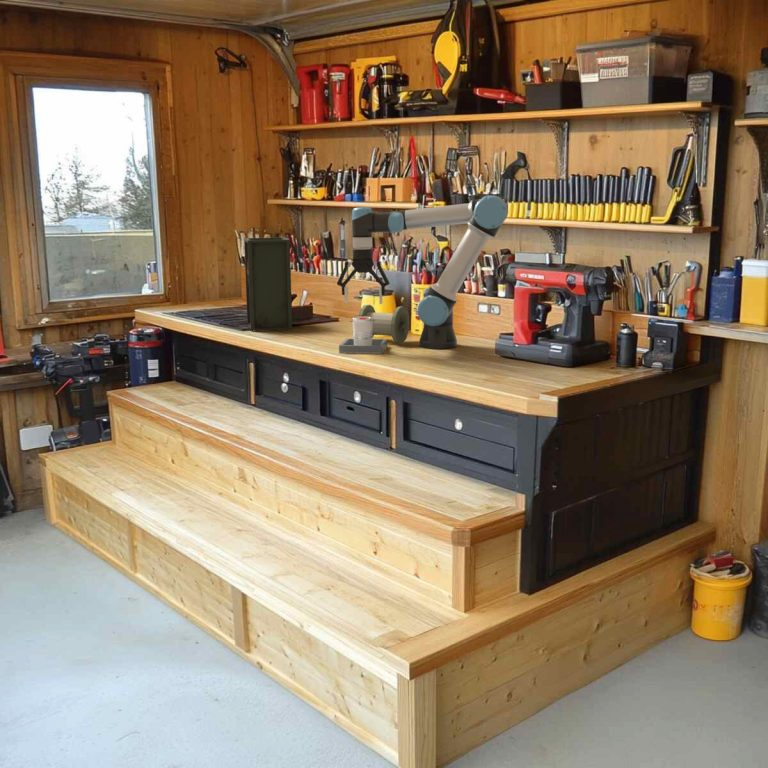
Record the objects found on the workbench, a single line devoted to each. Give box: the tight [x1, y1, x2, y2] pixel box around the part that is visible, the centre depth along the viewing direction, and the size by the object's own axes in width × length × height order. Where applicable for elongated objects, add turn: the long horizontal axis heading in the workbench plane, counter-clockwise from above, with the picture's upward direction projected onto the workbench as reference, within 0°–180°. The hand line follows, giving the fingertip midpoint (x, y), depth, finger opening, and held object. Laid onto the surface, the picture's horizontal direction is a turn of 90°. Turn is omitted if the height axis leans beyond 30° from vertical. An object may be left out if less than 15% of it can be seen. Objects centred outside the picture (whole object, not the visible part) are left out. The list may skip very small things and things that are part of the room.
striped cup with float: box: [349, 316, 375, 345], centre depth 356 cm, size 10×8×12 cm
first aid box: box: [243, 237, 293, 331], centre depth 411 cm, size 18×18×40 cm
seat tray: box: [338, 338, 388, 355], centre depth 357 cm, size 16×16×3 cm
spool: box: [357, 304, 410, 345], centre depth 374 cm, size 16×15×15 cm
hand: (363, 303), depth 353 cm, fingers open, 13 cm apart
